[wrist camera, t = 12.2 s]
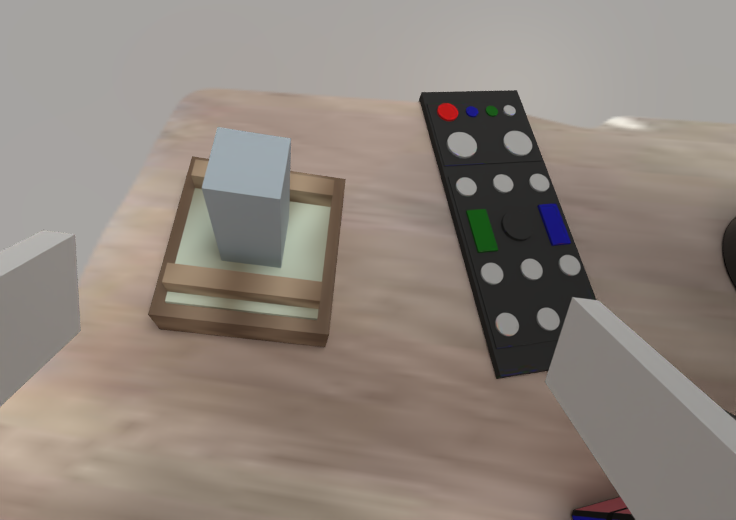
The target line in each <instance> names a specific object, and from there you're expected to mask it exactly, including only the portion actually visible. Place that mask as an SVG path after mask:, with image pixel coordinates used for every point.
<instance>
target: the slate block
mask: <svg viewBox="0 0 736 520" xmlns="http://www.w3.org/2000/svg"><path fill="white" fill-rule="evenodd" d="M290 157H291V138H284V137H278V136H271V135H265V134H259V133H252V132H246V131H239V130H233V129H227V128H220V127H217V131H216V135H215V139H214V143H213V147H212V150H211V154H210V158H209V162H208V166H207V170H206V173H205V177H204V181H203V185H202V191H203V195H204V198H205V202H206V206H207V209H208V213H209V217H210V220H211V224H212V228H213V231H214V235H215V238H216V242H217V246H218V249H219V253H220V257H221V260H222V261H229V262H237V263H245V264H253V265H261V266H269V267H277V268H281V265H282V259H283V253H284V247H285V241H286V235H287V228H288V222H289V204H290Z"/></svg>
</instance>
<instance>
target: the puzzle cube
mask: <svg viewBox="0 0 736 520" xmlns="http://www.w3.org/2000/svg"><path fill="white" fill-rule="evenodd" d="M572 517H573V520H635V518H634V517H633V515H632V514H631V512H630V511H629V509H628V508H627V506H626V504H625V503H624V501H623V500H622V498H621V497H618V498H614V499H611V500H607V501H604V502H600V503H596V504H593V505H589V506H586V507H582V508H579V509H575V510H574V511H573V514H572Z"/></svg>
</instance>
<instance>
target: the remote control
mask: <svg viewBox="0 0 736 520" xmlns="http://www.w3.org/2000/svg"><path fill="white" fill-rule="evenodd" d="M418 102H421V106H422V110H423V113H424V117H425V121H426V124H427V128H428V131H429V135H430V139H431V142H432V146H433V150H434V153H435V157H436V161H437V164H438V168H439V171H440V175H441V179H442V182H443V186H444V190H445V193H446V197H447V201H448V204H449V208H450V211H451V215H452V219H453V222H454V226H455V230H456V233H457V237H458V241H459V244H460V248H461V251H462V255H463V259H464V262H465V266H466V270H467V273H468V277H469V281H470V284H471V288H472V291H473V295H474V299H475V302H476V306H477V310H478V313H479V317H480V321H481V324H482V328H483V331H484V335H485V339H486V342H487V346H488V350H489V353H490V357H491V361H492V364H493V368H494V371H495V375H496V379H498V378H504V377H510V376H517V375H523V374H530V373H536V372H542V371H549V367H550V364H551V361H552V358H553V355H554V352H555V349H556V346H557V343H558V340H559V337H560V334H561V330H562V327H563V324H564V321H565V318H566V315H567V312H568V309H569V306H570V303H571V300H572V297H575V298H583V299H591V300H596V298H595V295H594V293H593V290H592V287H591V285H590V282H589V279H588V277H587V274H586V271H585V269H584V266H583V264H582V261H581V258H580V256H579V253H578V250H577V248H576V245H575V242H574V240H573V237H572V235H571V232H570V229H569V227H568V224H567V221H566V219H565V216H564V213H563V211H562V208H561V206H560V203H559V200H558V198H557V195H556V192H555V190H554V187H553V184H552V182H551V179H550V177H549V174H548V171H547V169H546V166H545V163H544V161H543V158H542V155H541V153H540V150H539V148H538V145H537V142H536V140H535V137H534V134H533V132H532V129H531V126H530V124H529V121H528V119H527V116H526V113H525V111H524V108H523V105H522V103H521V100H520V97H519V95H518V92H517V91H516V90H514V91H471V92H470V91H467V92H422V93H421V96H420V99H419V101H418Z"/></svg>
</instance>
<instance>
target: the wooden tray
mask: <svg viewBox="0 0 736 520" xmlns="http://www.w3.org/2000/svg"><path fill="white" fill-rule="evenodd" d="M208 162H209V159H205V158H199V157H192V159H191V163H190V166H189V170H188V173H187V177H186V181H185V184H184V188H183V191H182V195H181V199H180V202H179V206H178V209H177V213H176V217H175V220H174V224H173V227H172V231H171V235H170V238H169V242H168V245H167V249H166V253H165V256H164V260H163V263H162V267H161V271H160V274H159V278H158V281H157V285H156V288H155V292H154V296H153V299H152V303H151V306H150V310H149V314H148V315H149V316H150V317H151V319H152V320H153V321H154V322H155V324H156V325H157V326H158V327H159V329H164V330H173V331H182V332H191V333H201V334H210V335H219V336H228V337H237V338H247V339H256V340H265V341H274V342H283V343H293V344H302V345H311V346H320V347H325V346H326V343H327V339H328V336H329V329H330V319H331V310H332V301H333V291H334V282H335V273H336V263H337V254H338V245H339V235H340V226H341V216H342V207H343V198H344V188H345V179H340V178H334V177H327V176H320V175H313V174H307V173H300V172H293V171H290V204H289V222H288V228H287V235H286V241H285V247H284V253H283V259H282V265H281V268H277V267H269V266H261V265H253V264H245V263H237V262H229V261H222V260H221V257H220V253H219V249H218V246H217V242H216V238H215V235H214V231H213V228H212V224H211V220H210V217H209V213H208V209H207V206H206V202H205V198H204V195H203V191H202V185H203V181H204V177H205V173H206V170H207V166H208Z"/></svg>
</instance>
